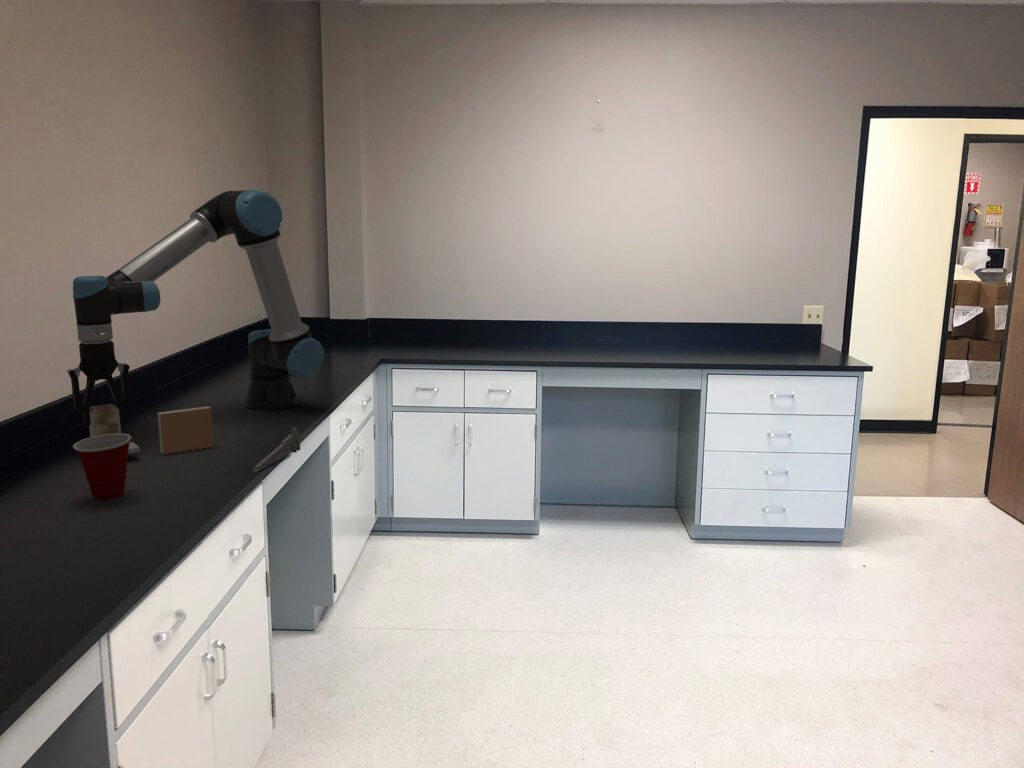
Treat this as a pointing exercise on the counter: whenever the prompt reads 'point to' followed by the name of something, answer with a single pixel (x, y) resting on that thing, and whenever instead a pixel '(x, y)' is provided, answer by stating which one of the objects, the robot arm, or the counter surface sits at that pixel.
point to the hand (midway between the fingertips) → (105, 435)
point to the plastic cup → (105, 463)
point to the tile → (185, 429)
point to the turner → (108, 422)
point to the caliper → (281, 449)
